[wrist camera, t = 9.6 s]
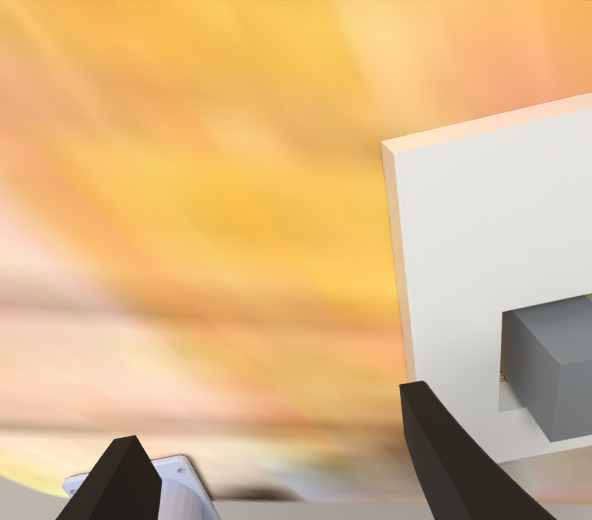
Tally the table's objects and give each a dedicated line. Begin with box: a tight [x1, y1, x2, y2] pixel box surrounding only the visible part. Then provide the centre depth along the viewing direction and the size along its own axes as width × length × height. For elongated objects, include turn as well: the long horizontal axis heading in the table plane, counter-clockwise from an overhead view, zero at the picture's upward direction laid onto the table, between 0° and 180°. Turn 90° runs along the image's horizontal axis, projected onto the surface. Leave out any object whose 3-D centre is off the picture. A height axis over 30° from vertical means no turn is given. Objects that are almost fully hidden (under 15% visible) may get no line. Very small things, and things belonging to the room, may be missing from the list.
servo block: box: [500, 295, 592, 443], centre depth 20 cm, size 5×4×5 cm
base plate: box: [381, 92, 592, 463], centre depth 20 cm, size 20×14×2 cm
